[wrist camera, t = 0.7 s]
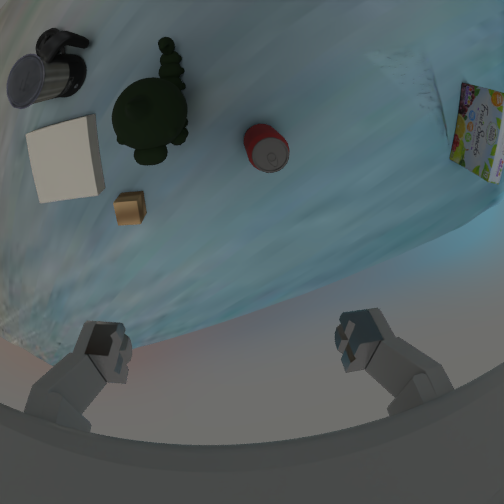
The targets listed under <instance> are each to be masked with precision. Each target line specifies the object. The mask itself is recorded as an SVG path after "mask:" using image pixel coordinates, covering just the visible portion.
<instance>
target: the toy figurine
mask: <svg viewBox="0 0 504 504" xmlns="http://www.w3.org/2000/svg"><path fill="white" fill-rule="evenodd" d="M158 45H159V49H160V51H161V52H162V53H163V54H162V56H161V58H160V63H161V65H162V66H161V67H160V69H159V76H160V78H145V79H141V80H138V81H136V82H134V83H133V84H131V85H130V86H128V87H127V88H126V89H125V90H124V91H123V92H122V93H121V95H120V96H119V97H118V99H117V101H116V103H115V105H114V108H113V112H112V124H113V128H114V131H115V133H116V135H117V142H118V143H119V144H121V145H127V146H129V147H131V148H134V149H135V151H134V158H135V160H136V162H137V163H139V164H140V165H156V164H159V163H161V162H163V161H164V160H165V159H166V157H167V153H168V151H167V147H166V145H167V144H169V143H172V144H173V145H181V144H182V143H184V142H185V140H186V137H187V136H188V130H187V129H186V128H185V127H186V126H187V125H188V120H187V103H186V99H185V97H184V95H183V94H182V92H181V90H183V89H185V86H186V85H185V84H184V83H182V81H181V79H180V78H179V77H180V75H181V74H183V73H184V69H183V68H181V66H180V65H179V62H180V61H181V60H182V57H181V56H180V55H179V54H178V53H177V52H176V51H174V49H175V44H174V42H173V40H172V39H171V38H169V37H163V38H161V39H160V40H159V41H158Z"/></svg>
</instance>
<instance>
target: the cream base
mask: <svg viewBox="0 0 504 504" xmlns="http://www.w3.org/2000/svg"><path fill="white" fill-rule="evenodd" d="M26 139H27V146H28V152H29V157H30V162H31V167H32V172H33V177H34V181H35V185H36V189H37V193H38V197H39V201H40V203H46V202H53V201H59V200H67V199H74V198H82V197H90V196H98V195H99V194H100V193H101V192H102V191H103V190H104V189H105V183H104V177H103V171H102V165H101V159H100V152H99V144H98V136H97V127H96V116H95V114H91V115H87V116H83V117H79V118H75V119H71V120H67V121H63V122H60V123H56V124H53V125H50V126H46V127H43V128H40V129H37V130H34V131H32V132H30V133H27V134H26Z"/></svg>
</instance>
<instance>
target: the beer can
mask: <svg viewBox="0 0 504 504" xmlns="http://www.w3.org/2000/svg"><path fill="white" fill-rule="evenodd" d="M244 146H245V149H246V152H247V155H248V158H249V161H250V163H251V164H252V165H253V166H254V167H255V168H257V169H258V170H261V171H263V172H266V173H274V172H277V171H279V170H281V169H282V168H283V167H284V166H285V165H286V164H287V162H288V159H289V146H288V143H287V141H286V140H285V138H284V137H283V136H281V135H280V134H279V133H278V132H277V131H276V130H275V129H274V128H272V127H271V126H269V125H266V124H257V125H253V126H252V127H251V128H249V129H248V130H247V132H246V133H245V136H244Z"/></svg>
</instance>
